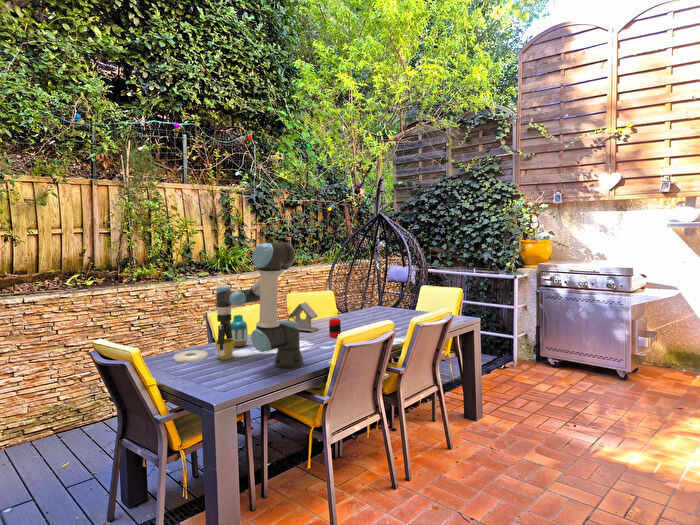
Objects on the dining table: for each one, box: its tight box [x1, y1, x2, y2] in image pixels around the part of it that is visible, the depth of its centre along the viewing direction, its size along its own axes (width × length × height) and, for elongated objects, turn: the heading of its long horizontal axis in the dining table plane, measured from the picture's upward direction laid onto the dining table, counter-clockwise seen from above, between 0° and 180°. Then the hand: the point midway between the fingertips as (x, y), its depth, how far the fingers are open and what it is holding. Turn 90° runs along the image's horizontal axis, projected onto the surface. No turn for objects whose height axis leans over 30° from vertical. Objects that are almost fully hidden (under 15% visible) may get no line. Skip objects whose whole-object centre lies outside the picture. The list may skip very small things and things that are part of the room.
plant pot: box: [215, 338, 236, 360], centre depth 242 cm, size 10×10×10 cm
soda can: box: [328, 317, 342, 339], centre depth 287 cm, size 8×8×12 cm
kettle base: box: [173, 349, 208, 364], centre depth 243 cm, size 18×18×2 cm
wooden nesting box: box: [287, 301, 319, 334], centre depth 306 cm, size 18×10×20 cm, turn 68°
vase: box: [231, 314, 248, 348], centre depth 266 cm, size 11×11×19 cm
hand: (225, 352), depth 242 cm, fingers closed on plant pot, 10 cm apart
